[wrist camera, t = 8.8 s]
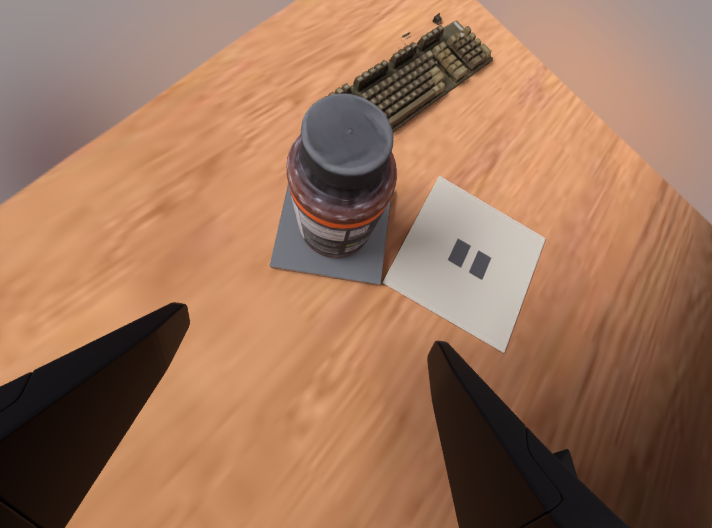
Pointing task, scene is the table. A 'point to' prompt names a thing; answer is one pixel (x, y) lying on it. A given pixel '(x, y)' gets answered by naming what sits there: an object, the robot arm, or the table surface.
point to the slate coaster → (303, 259)
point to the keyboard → (421, 72)
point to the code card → (467, 263)
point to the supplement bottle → (341, 173)
